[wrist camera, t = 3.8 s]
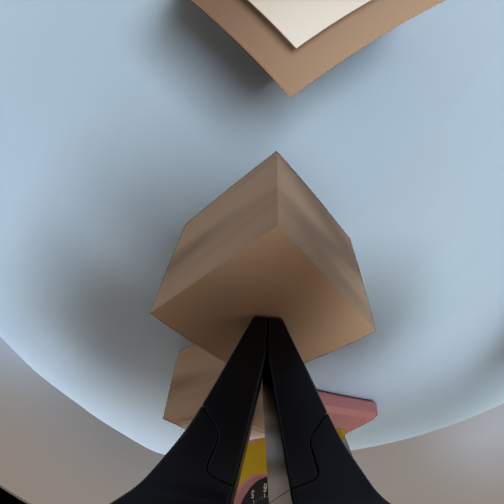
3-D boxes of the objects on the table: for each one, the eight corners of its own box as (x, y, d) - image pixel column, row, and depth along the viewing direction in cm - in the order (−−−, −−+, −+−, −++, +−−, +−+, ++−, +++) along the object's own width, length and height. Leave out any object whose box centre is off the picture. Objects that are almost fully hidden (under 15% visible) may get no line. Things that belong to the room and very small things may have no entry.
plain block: (349, 238, 13) (375, 330, 9) (262, 290, 15) (256, 380, 11) (276, 150, 11) (278, 225, 7) (185, 224, 13) (150, 313, 9)
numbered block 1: (287, 361, 19) (286, 438, 15) (232, 381, 21) (224, 449, 17) (233, 323, 17) (221, 412, 13) (179, 350, 19) (161, 424, 15)
